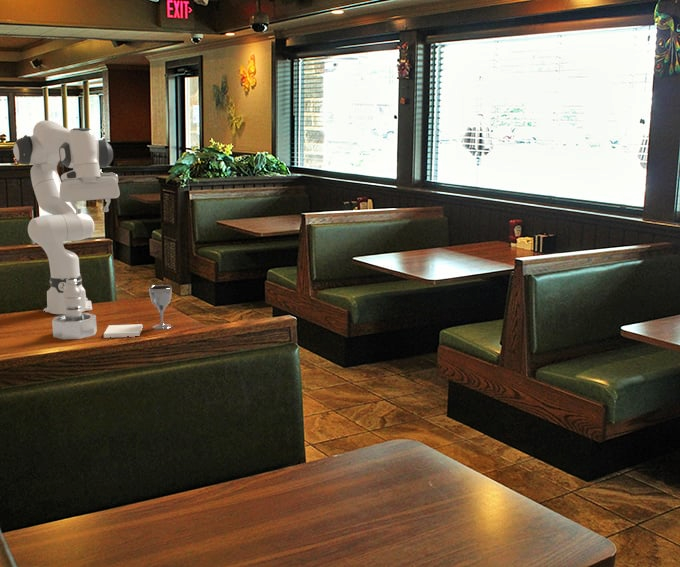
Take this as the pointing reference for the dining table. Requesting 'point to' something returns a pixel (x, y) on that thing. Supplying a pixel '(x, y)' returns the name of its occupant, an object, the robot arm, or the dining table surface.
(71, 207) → the robot arm
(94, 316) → the steel collar
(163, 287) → the wine glass
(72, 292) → the plastic bottle
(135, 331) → the ceramic pad
